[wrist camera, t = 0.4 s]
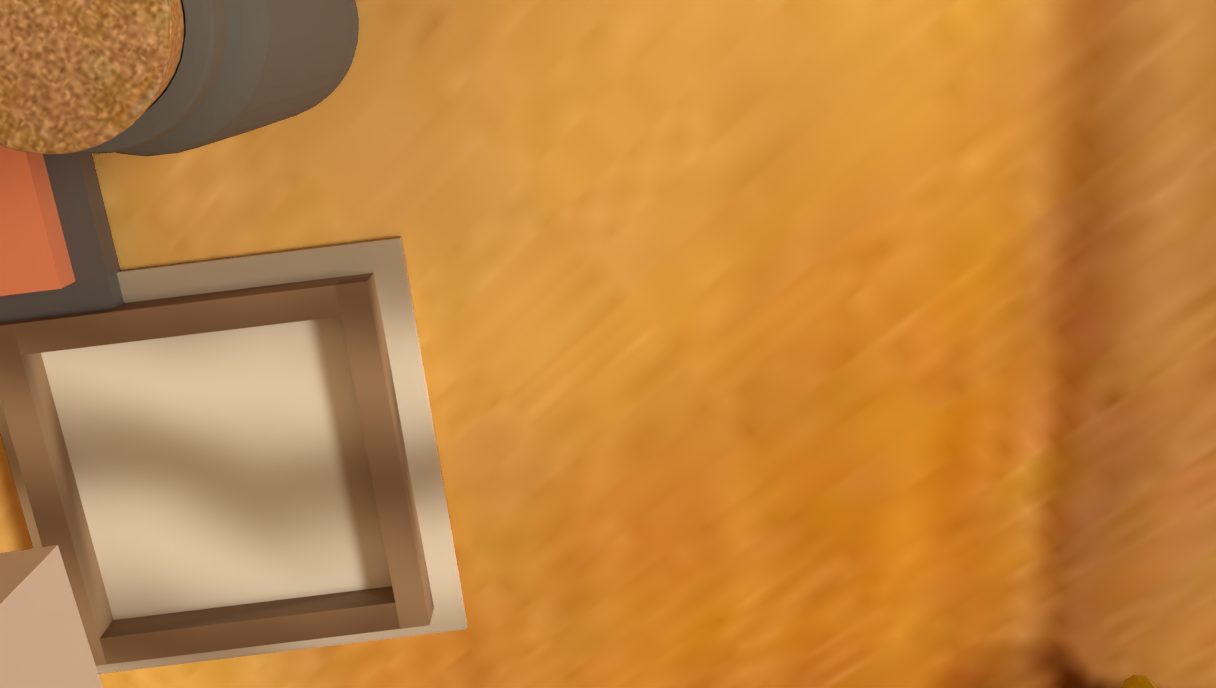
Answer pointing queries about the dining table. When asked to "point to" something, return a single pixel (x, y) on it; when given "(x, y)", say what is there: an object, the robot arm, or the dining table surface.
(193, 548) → the frame
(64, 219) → the ink pad
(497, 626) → the dining table surface
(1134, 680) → the mug
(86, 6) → the cork-lidded jar
